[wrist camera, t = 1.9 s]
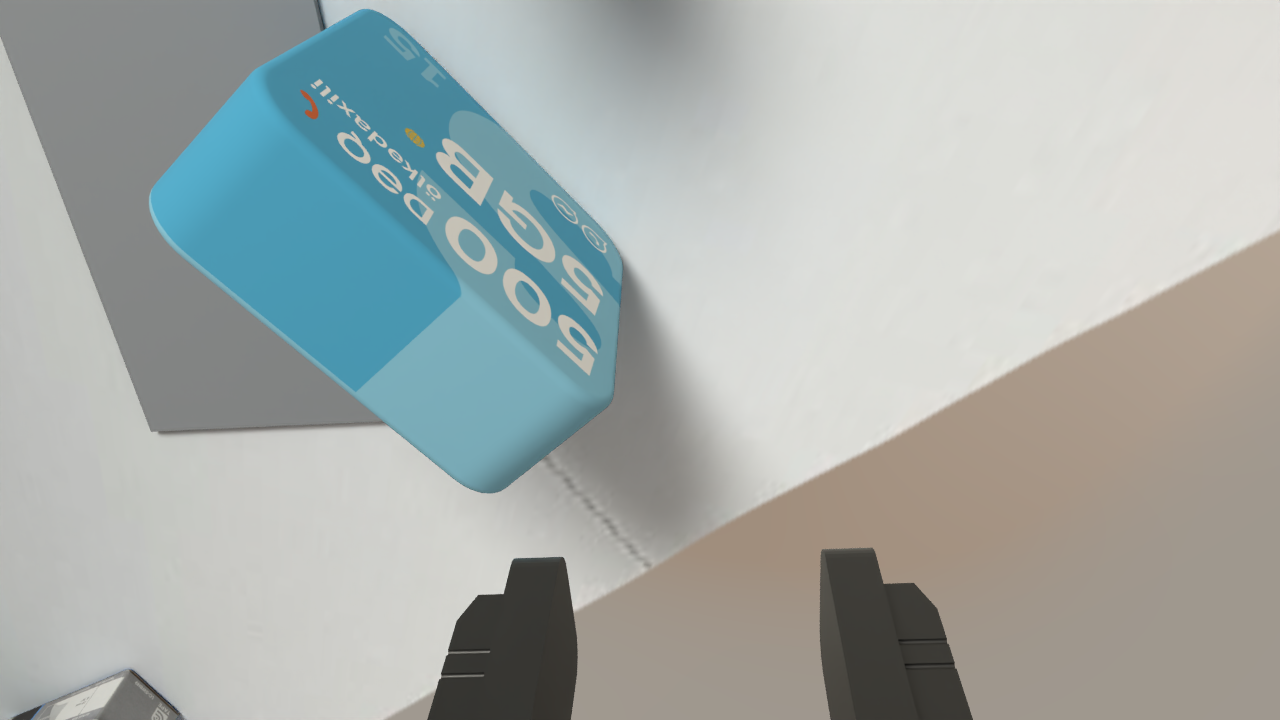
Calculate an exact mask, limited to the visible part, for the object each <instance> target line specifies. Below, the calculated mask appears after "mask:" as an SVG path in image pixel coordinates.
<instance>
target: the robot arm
mask: <svg viewBox="0 0 1280 720" xmlns="http://www.w3.org/2000/svg"><path fill="white" fill-rule="evenodd" d="M820 576H821V577H820V645H821V658H822V667H823V674H824V681H825V687H826V693H827V699H828V706H829V711H830V718H831V720H973V718H972V715H971V712H970V709H969V706H968V703H967V700H966V697H965V694H964V691H963V687H962V684H961V681H960V678H959V675H958V672H957V669H955V666H954V660H953V656H952V653H951V650H950V647H949V644H947V638H946V635H945V632H944V629H943V625H942V622H941V619H940V616H939V613H938V610H937V608H936V607H935V606H934V605H933V604H932V603H931V601H930V600H929V599H928V598H927V597H926V596H925V595H924V594H923V593H922V592H921V590H920V589H919V588H918V587H917V586H916V585H915V584H914V583H898V584H883V580H882V577H881V573H880V569H879V565H878V561H877V557H876V554H875V551H874V549H873V548H853V549H852V548H850V549H823V550H822V551H821V573H820ZM577 658H578V656H577V635H576V628H575V621H574V614H573V607H572V601H571V594H570V587H569V580H568V574H567V567H566V563H565V560H564V558H563V557H547V558H516V559H514V560H513V561H512V564H511V567H510V571H509V575H508V579H507V583H506V587H505V591H504V594H495V595H478V596H477V597H476V598H475V600H474V601H473V602H472V603H471V604H470V606H469V607H468V608H467V609H466V610H465V612H464V613H463V614H462V615H461V616H460V618H459V619H458V620H457V622H456V625H455V629H454V632H453V636H452V639H451V642H450V646H449V649H448V655H447V656H446V659H445V662H444V666H443V669H442V672H441V679H439V682H438V686H437V689H436V693H435V696H434V699H433V703H432V706H431V709H430V713H429V716H428V719H427V720H571V714H572V707H573V699H574V692H575V684H576V676H577Z"/></svg>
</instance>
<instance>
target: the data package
mask: <svg viewBox="0 0 1280 720" xmlns="http://www.w3.org/2000/svg"><path fill="white" fill-rule="evenodd" d="M149 208H150V213H151V216H152V219H153V221H154V224H155V226H156V227H157V229H158V231H159V232H160V234H161V235H162V237H163V238H164V239H165V240H166V242H167V243H168V244H169V245H170V246H171V247H172V248H173V249H174V250H175V251H176V252H177V253H178V254H179V255H180V256H181V257H182V258H184V259H185V260H186V261H187V262H188V263H190V264H191V265H192V266H193V267H195V268H196V269H197V270H198V271H199V272H201V273H202V274H203V275H204V276H206V277H207V278H208V279H209V280H210V281H212V282H213V283H214V284H215V285H217V286H218V287H219V288H220V289H222V290H223V291H224V292H225V293H226V294H228V295H229V296H230V297H231V298H233V299H234V300H235V301H236V302H237V303H239V304H240V305H241V306H242V307H244V308H245V309H246V310H247V311H248V312H250V313H251V314H252V315H253V316H255V317H256V318H257V319H258V320H260V321H261V322H262V323H263V324H264V325H266V326H267V327H268V328H269V329H271V330H272V331H273V332H274V333H275V334H277V335H278V336H279V337H280V338H282V339H283V340H284V341H285V342H287V343H288V344H289V345H290V346H291V347H293V348H294V349H295V350H296V351H298V352H299V353H300V354H301V355H302V356H304V357H305V358H306V359H307V360H309V361H310V362H311V363H312V364H313V365H315V366H316V367H317V368H318V369H320V370H321V371H322V372H323V373H325V374H326V375H327V376H328V377H329V378H331V379H332V380H333V381H334V382H336V383H337V384H338V385H339V386H340V387H342V388H343V389H344V390H345V391H347V392H348V393H349V394H350V395H352V396H353V397H354V398H355V399H356V400H358V401H359V402H360V403H361V404H363V405H364V406H365V407H366V408H367V409H369V410H370V411H371V412H372V413H374V414H375V415H376V416H377V417H379V418H380V419H381V420H382V421H383V422H385V423H386V424H387V425H388V426H390V427H391V428H392V429H393V430H394V431H396V432H397V433H398V434H399V435H401V436H402V437H403V438H404V439H405V440H407V441H408V442H409V443H410V444H412V445H413V446H414V447H415V448H417V449H418V450H419V451H420V452H421V453H423V454H424V455H425V456H426V457H428V458H429V459H430V460H431V461H432V462H434V463H435V464H436V465H437V466H439V467H440V468H441V469H442V470H444V471H445V472H446V473H447V474H448V475H450V476H451V477H452V478H453V479H455V480H456V481H457V482H459V483H460V484H462V485H464V486H465V487H467V488H469V489H472V490H474V491H477V492H481V493H496V492H499V491H502V490H503V489H505V488H506V487H508V486H509V485H510V484H511V483H513V482H514V481H515V480H516V479H518V478H519V477H520V476H521V475H523V474H524V473H525V472H526V471H528V470H529V469H530V468H531V467H533V466H534V465H535V464H536V463H538V462H539V461H540V460H541V459H543V458H544V457H545V456H546V455H548V454H549V453H550V452H551V451H553V450H554V449H555V448H556V447H558V446H559V445H560V444H561V443H563V442H564V441H565V440H567V439H568V438H569V437H570V436H572V435H573V434H574V433H575V432H577V431H578V430H579V429H580V428H582V427H583V426H584V425H585V424H587V423H588V422H589V421H590V420H592V419H593V418H594V417H595V416H597V415H598V414H599V413H600V412H602V411H603V410H604V409H605V408H607V407H608V406H609V404H610V403H611V401H612V399H613V395H614V385H615V371H616V357H617V344H618V330H619V316H620V303H621V289H622V275H623V264H622V260H621V257H620V255H619V253H618V251H617V249H616V247H615V246H614V244H613V243H612V241H611V240H610V238H609V237H608V236H607V234H606V233H605V232H604V231H603V229H602V228H601V227H600V226H599V225H598V224H597V223H596V222H595V221H594V220H593V219H592V218H591V217H590V216H589V215H588V214H587V213H586V212H585V211H584V210H583V209H582V208H581V207H580V206H579V205H578V204H577V203H576V202H575V201H574V200H573V199H572V198H571V197H570V196H569V195H568V194H567V193H566V192H565V191H564V190H563V189H562V188H561V187H560V186H559V185H558V184H557V183H556V181H555V180H554V179H553V178H552V177H551V176H550V175H549V174H548V173H547V172H546V171H545V170H544V169H543V168H542V167H541V166H540V165H539V164H538V163H537V162H536V161H535V160H534V159H533V158H532V157H531V156H530V155H529V154H528V153H527V152H526V151H525V150H524V149H523V148H522V147H521V146H520V145H519V144H518V143H517V142H516V141H515V140H514V139H513V138H512V137H511V136H510V135H509V134H508V133H507V132H506V131H505V130H504V129H503V128H502V127H501V126H500V125H499V124H498V123H497V122H496V121H495V120H494V119H493V118H492V117H491V116H490V115H489V114H488V113H487V112H486V111H485V110H484V109H483V108H482V107H481V106H480V105H479V104H478V103H477V102H476V101H475V100H474V99H473V98H472V97H471V96H470V95H469V94H468V93H467V92H466V91H465V90H464V89H463V88H462V87H461V86H460V85H459V84H458V83H457V82H456V81H455V80H454V79H453V78H452V77H451V76H450V75H449V74H448V73H447V72H446V71H445V70H444V69H443V68H442V67H441V66H440V65H439V64H438V63H437V62H436V61H435V60H434V59H433V58H432V57H431V56H430V55H429V54H428V53H427V52H426V51H425V50H424V49H423V48H422V47H421V46H420V45H419V44H418V43H417V42H416V41H415V40H414V39H413V38H412V37H411V36H410V35H409V34H408V33H407V32H406V31H405V30H404V29H403V28H401V27H400V26H399V25H398V24H396V23H395V22H394V21H392V20H391V19H389V18H388V17H386V16H384V15H383V14H381V13H379V12H376V11H374V10H370V9H362V10H359V11H357V12H355V13H353V14H352V15H350V16H348V17H346V18H345V19H343V20H341V21H339V22H338V23H336V24H334V25H332V26H330V27H329V28H327V29H325V30H323V31H322V32H320V33H318V34H316V35H315V36H313V37H311V38H309V39H307V40H306V41H304V42H302V43H300V44H299V45H297V46H295V47H293V48H292V49H290V50H288V51H286V52H284V53H283V54H281V55H279V56H277V57H276V58H274V59H272V60H270V61H269V62H267V63H265V64H263V65H261V66H260V67H258V68H256V69H255V70H254V71H253V72H252V73H251V74H250V75H249V76H248V77H247V79H246V80H245V81H244V82H243V83H242V84H241V85H240V87H239V88H238V89H237V90H236V91H235V92H234V94H233V95H232V96H231V97H230V98H229V99H228V100H227V102H226V103H225V104H224V105H223V106H222V107H221V109H220V110H219V111H218V112H217V113H216V114H215V115H214V117H213V118H212V119H211V120H210V121H209V122H208V124H207V125H206V126H205V127H204V128H203V129H202V130H201V132H200V133H199V134H198V135H197V136H196V137H195V139H194V140H193V141H192V142H191V143H190V144H189V145H188V147H187V148H186V149H185V150H184V151H183V152H182V154H181V155H180V156H179V157H178V158H177V159H176V160H175V162H174V163H173V164H172V165H171V166H170V167H169V169H168V170H167V171H166V172H165V173H164V174H163V176H162V177H161V178H160V179H159V180H158V181H157V182H156V184H155V185H154V186H153V188H152V190H151V193H150V196H149Z"/></svg>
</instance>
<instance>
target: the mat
mask: <svg viewBox="0 0 1280 720" xmlns="http://www.w3.org/2000/svg"><path fill="white" fill-rule="evenodd" d="M323 30H324V28H323V24H322V19H321V15H320V11H319V6H318V2H317V0H0V37H1V39H2V42H3V44H4V47H5V50H6V52H7V55H8V58H9V60H10V63H11V65H12V68H13V71H14V73H15V76H16V79H17V81H18V84H19V86H20V89H21V92H22V94H23V97H24V100H25V102H26V105H27V107H28V110H29V113H30V115H31V118H32V121H33V123H34V126H35V128H36V131H37V134H38V136H39V139H40V142H41V144H42V147H43V149H44V152H45V155H46V157H47V160H48V163H49V165H50V168H51V170H52V173H53V176H54V178H55V181H56V183H57V186H58V189H59V191H60V194H61V197H62V199H63V202H64V204H65V207H66V210H67V212H68V215H69V218H70V220H71V223H72V225H73V228H74V231H75V233H76V236H77V239H78V241H79V244H80V246H81V249H82V252H83V254H84V257H85V260H86V262H87V265H88V267H89V270H90V273H91V275H92V278H93V281H94V283H95V286H96V288H97V291H98V294H99V296H100V299H101V302H102V304H103V307H104V309H105V312H106V315H107V317H108V320H109V323H110V325H111V328H112V330H113V333H114V336H115V338H116V341H117V343H118V346H119V349H120V351H121V354H122V357H123V359H124V362H125V364H126V367H127V370H128V372H129V375H130V378H131V380H132V383H133V385H134V388H135V391H136V393H137V396H138V399H139V401H140V404H141V406H142V409H143V412H144V414H145V417H146V420H147V422H148V425H149V427H150V430H151V432H155V431H177V430H200V429H223V428H246V427H268V426H291V425H314V424H336V423H359V422H382V420H381V419H380V418H379V417H377V416H376V415H375V414H374V413H372V412H371V411H370V410H369V409H367V408H366V407H365V406H364V405H363V404H361V403H360V402H359V401H358V400H356V399H355V398H354V397H353V396H352V395H350V394H349V393H348V392H347V391H345V390H344V389H343V388H342V387H340V386H339V385H338V384H337V383H336V382H334V381H333V380H332V379H331V378H329V377H328V376H327V375H326V374H325V373H323V372H322V371H321V370H320V369H318V368H317V367H316V366H315V365H313V364H312V363H311V362H310V361H309V360H307V359H306V358H305V357H304V356H302V355H301V354H300V353H299V352H298V351H296V350H295V349H294V348H293V347H291V346H290V345H289V344H288V343H287V342H285V341H284V340H283V339H282V338H280V337H279V336H278V335H277V334H275V333H274V332H273V331H272V330H271V329H269V328H268V327H267V326H266V325H264V324H263V323H262V322H261V321H260V320H258V319H257V318H256V317H255V316H253V315H252V314H251V313H250V312H248V311H247V310H246V309H245V308H244V307H242V306H241V305H240V304H239V303H237V302H236V301H235V300H234V299H233V298H231V297H230V296H229V295H228V294H226V293H225V292H224V291H223V290H222V289H220V288H219V287H218V286H217V285H215V284H214V283H213V282H212V281H210V280H209V279H208V278H207V277H206V276H204V275H203V274H202V273H201V272H199V271H198V270H197V269H196V268H195V267H193V266H192V265H191V264H190V263H188V262H187V261H186V260H185V259H184V258H182V257H181V256H180V255H179V254H178V253H177V252H176V251H175V250H174V249H173V248H172V247H171V246H170V245H169V244H168V243H167V242H166V240H165V239H164V238H163V237H162V235H161V234H160V232H159V231H158V229H157V227H156V226H155V224H154V221H153V219H152V216H151V213H150V208H149V196H150V193H151V190H152V188H153V186H154V185H155V184H156V182H157V181H158V180H159V179H160V178H161V177H162V176H163V174H164V173H165V172H166V171H167V170H168V169H169V167H170V166H171V165H172V164H173V163H174V162H175V160H176V159H177V158H178V157H179V156H180V155H181V154H182V152H183V151H184V150H185V149H186V148H187V147H188V145H189V144H190V143H191V142H192V141H193V140H194V139H195V137H196V136H197V135H198V134H199V133H200V132H201V130H202V129H203V128H204V127H205V126H206V125H207V124H208V122H209V121H210V120H211V119H212V118H213V117H214V115H215V114H216V113H217V112H218V111H219V110H220V109H221V107H222V106H223V105H224V104H225V103H226V102H227V100H228V99H229V98H230V97H231V96H232V95H233V94H234V92H235V91H236V90H237V89H238V88H239V87H240V85H241V84H242V83H243V82H244V81H245V80H246V79H247V77H248V76H249V75H250V74H251V73H252V72H253V71H254V70H255V69H256V68H258V67H260V66H261V65H263V64H265V63H267V62H269V61H270V60H272V59H274V58H276V57H277V56H279V55H281V54H283V53H284V52H286V51H288V50H290V49H292V48H293V47H295V46H297V45H299V44H300V43H302V42H304V41H306V40H307V39H309V38H311V37H313V36H315V35H316V34H318V33H320V32H322V31H323Z"/></svg>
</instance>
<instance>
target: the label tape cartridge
mask: <svg viewBox="0 0 1280 720" xmlns="http://www.w3.org/2000/svg"><path fill="white" fill-rule="evenodd" d="M178 716H179V713H178V712H177V711H176V710H175V709H174V708H173V707H172V706H171V705H170V704H169V703H167V702H166V701H165V700H164V699H163V698H162V697H161V696H160V695H158V694H157V693H156V692H155V691H154V690H153V689H152V688H151V687H150V686H149V685H148V684H147V683H146V682H144V681H143V680H142V679H141V678H140V677H139V676H138V675H137V674H136V673H135V672H133V671H132V670H129V669H128V670H124V671H122V672H120V673H118V674H115V675H113V676H111V677H108V678H106V679H104V680H101V681H99V682H97V683H94V684H92V685H89V686H87V687H85V688H82V689H80V690H78V691H75V692H73V693H70V694H68V695H66V696H63V697H61V698H58V699H56V700H53V701H51V702H49V703H46V704H44V705H41V706H39V707H37V708H34V709H32V710H30V711H27V712H25V713H22V714H20V715H18V716H15V717H13V718H11V719H8V720H176V719H177V718H178Z"/></svg>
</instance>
